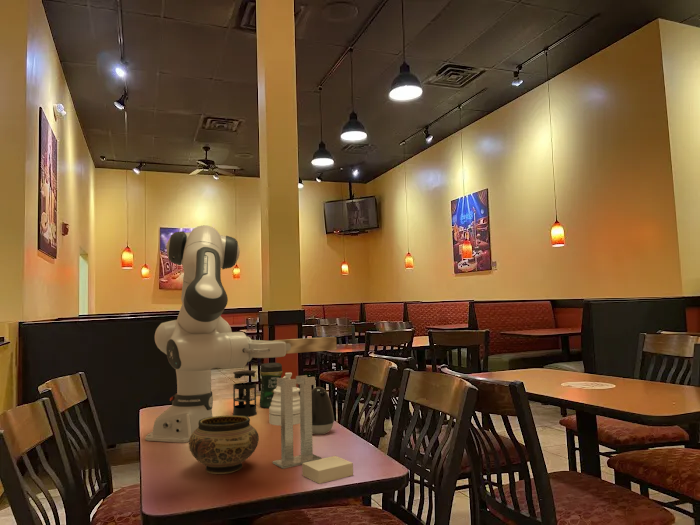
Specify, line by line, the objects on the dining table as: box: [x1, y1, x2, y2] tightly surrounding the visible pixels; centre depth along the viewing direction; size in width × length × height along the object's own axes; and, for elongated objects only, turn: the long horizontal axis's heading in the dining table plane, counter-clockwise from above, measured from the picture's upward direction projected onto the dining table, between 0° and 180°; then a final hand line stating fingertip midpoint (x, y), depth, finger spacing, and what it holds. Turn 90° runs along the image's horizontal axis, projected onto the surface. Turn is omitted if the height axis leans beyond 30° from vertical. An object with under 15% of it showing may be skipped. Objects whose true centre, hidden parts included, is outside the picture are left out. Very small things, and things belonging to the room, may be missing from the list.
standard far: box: [293, 374, 323, 463], centre depth 144 cm, size 6×6×23 cm
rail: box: [272, 336, 338, 355], centre depth 140 cm, size 18×3×4 cm, turn 124°
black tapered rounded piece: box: [311, 386, 335, 435], centre depth 174 cm, size 10×10×15 cm
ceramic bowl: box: [188, 414, 260, 475], centre depth 137 cm, size 24×18×15 cm
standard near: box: [272, 377, 303, 469], centre depth 141 cm, size 6×6×23 cm
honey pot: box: [268, 372, 300, 427], centre depth 193 cm, size 13×13×18 cm
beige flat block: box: [301, 455, 354, 485], centre depth 130 cm, size 10×8×3 cm
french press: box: [232, 365, 257, 418], centre depth 208 cm, size 12×9×23 cm
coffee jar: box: [259, 362, 283, 409], centre depth 223 cm, size 10×8×19 cm
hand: (285, 346), depth 136 cm, fingers closed on rail, 3 cm apart
